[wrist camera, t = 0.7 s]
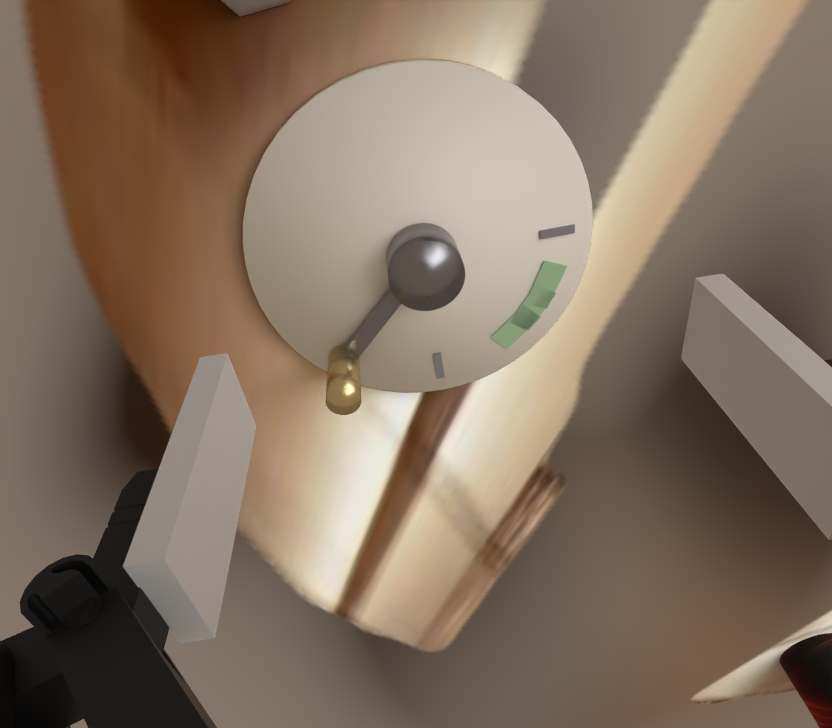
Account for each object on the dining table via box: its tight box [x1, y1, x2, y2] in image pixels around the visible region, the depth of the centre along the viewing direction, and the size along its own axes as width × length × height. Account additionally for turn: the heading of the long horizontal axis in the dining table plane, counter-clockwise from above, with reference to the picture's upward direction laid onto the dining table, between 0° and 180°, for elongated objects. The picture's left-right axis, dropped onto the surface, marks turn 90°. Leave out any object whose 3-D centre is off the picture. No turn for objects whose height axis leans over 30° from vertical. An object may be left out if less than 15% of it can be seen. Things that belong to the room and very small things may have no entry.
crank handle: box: [326, 223, 465, 415], centre depth 39 cm, size 14×5×5 cm, turn 144°
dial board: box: [243, 59, 593, 393], centre depth 40 cm, size 24×24×1 cm
